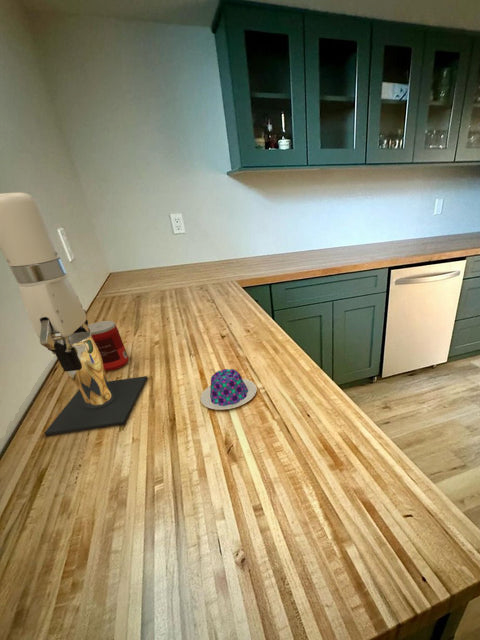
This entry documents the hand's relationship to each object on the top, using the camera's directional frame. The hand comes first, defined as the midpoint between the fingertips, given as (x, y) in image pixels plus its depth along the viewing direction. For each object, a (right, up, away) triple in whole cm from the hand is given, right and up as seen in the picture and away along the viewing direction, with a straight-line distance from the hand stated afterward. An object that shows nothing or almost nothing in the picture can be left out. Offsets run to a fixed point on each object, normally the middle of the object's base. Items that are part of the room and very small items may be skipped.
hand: (81, 360), depth 68 cm
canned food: (-6, 0, +23) cm, 23 cm away
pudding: (+29, -8, +4) cm, 30 cm away
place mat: (+1, -9, +6) cm, 11 cm away
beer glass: (+1, -9, +5) cm, 10 cm away
